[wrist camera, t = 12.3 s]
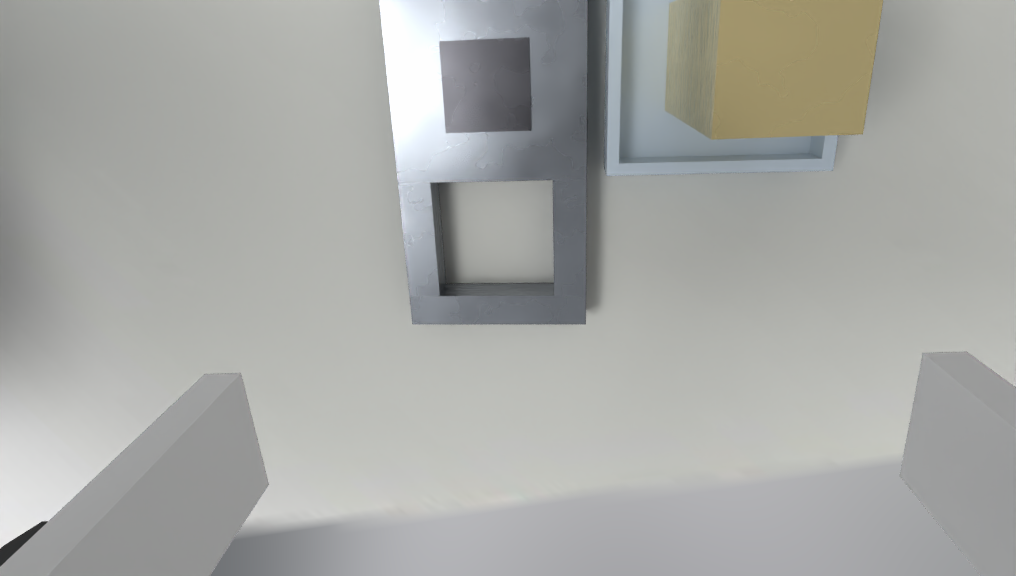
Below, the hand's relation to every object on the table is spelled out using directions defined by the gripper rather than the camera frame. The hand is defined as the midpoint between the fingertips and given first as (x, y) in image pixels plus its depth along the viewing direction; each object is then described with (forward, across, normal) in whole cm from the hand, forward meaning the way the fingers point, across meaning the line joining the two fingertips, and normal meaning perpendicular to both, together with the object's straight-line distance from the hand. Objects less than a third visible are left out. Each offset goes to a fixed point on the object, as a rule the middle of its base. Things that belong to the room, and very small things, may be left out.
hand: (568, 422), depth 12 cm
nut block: (+23, +8, +6) cm, 25 cm away
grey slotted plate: (+24, -3, +3) cm, 24 cm away
